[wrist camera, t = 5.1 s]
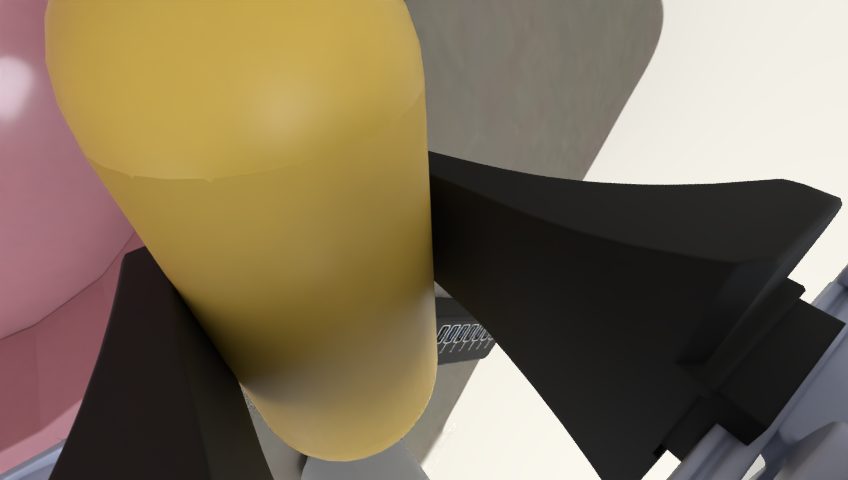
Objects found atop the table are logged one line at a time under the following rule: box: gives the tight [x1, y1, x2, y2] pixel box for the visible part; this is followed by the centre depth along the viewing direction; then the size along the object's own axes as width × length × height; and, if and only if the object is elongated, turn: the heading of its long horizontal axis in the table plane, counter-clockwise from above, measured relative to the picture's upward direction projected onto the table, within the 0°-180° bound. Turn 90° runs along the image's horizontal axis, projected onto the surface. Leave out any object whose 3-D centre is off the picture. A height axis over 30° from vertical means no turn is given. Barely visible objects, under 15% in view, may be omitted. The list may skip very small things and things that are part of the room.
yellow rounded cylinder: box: [44, 0, 438, 461], centre depth 8 cm, size 12×4×4 cm, turn 1°
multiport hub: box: [435, 298, 496, 365], centre depth 32 cm, size 4×11×2 cm, turn 52°
